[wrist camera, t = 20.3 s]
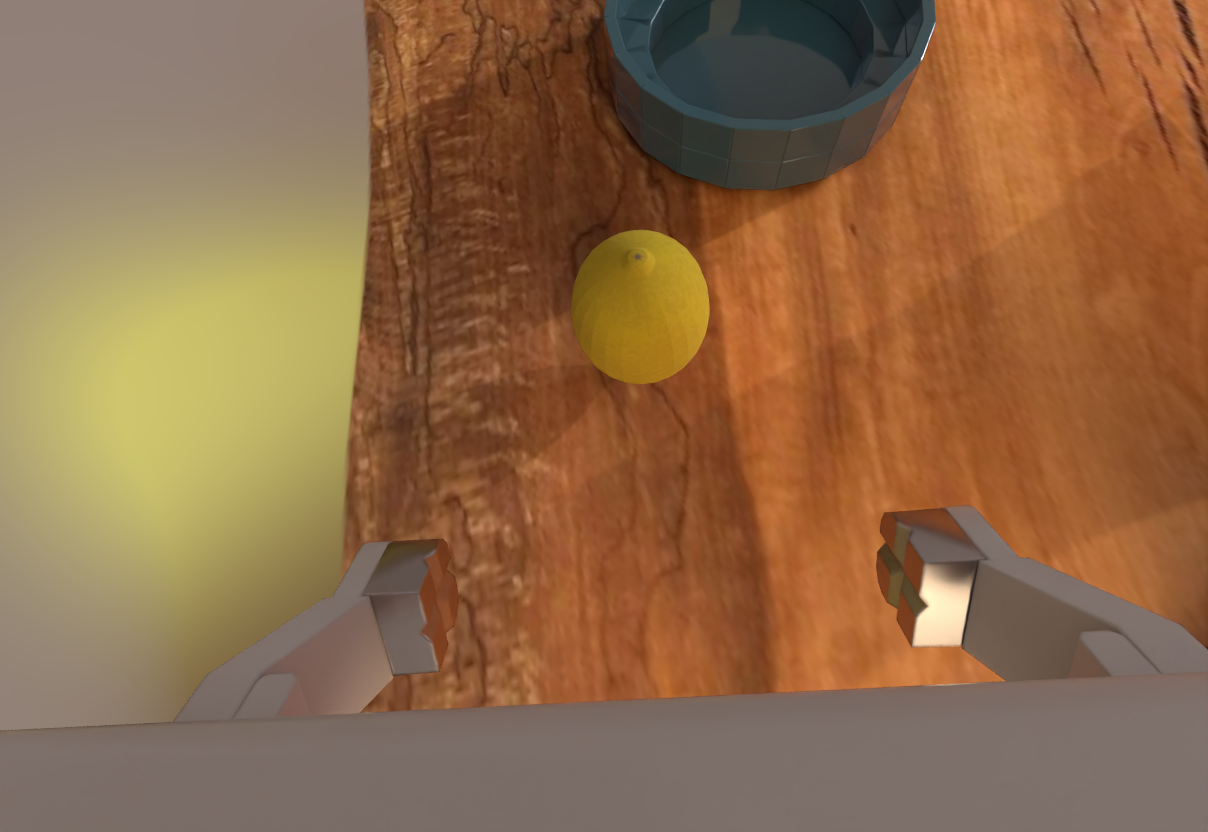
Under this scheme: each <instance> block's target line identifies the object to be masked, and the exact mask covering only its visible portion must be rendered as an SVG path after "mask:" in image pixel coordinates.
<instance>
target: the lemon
mask: <svg viewBox="0 0 1208 832" xmlns="http://www.w3.org/2000/svg"><path fill="white" fill-rule="evenodd" d="M709 312H710V308H709V298H708V289H707V284H706V282H705V279H704V277H703V274H702V272H701V269H700V267H699V265H698V263H697V262H696V260H695V259H694V258H693V256H692V255H691V254H690V253H689V251H688V250H687V249H686V248H685V247H684V246H683V245H681V244H680V243H679V242H677V241H676V240H675V239H673V238H671V237H668V236H666V235H664V234H662V233H659V232H654V231H649V230H631V231H626V232H622V233H618V234H616V235H614V236H612V237H610V238H608V239H606V240H604V241H603V242H602V243H601V244H599V245H598V246H597V247H596V248H594V249H593V250H592V251H591V253H590V254H589V255H588V257H587V258H586V259H585V261H584V262H583V263H582V265H581V267H580V270H579V272H578V275H577V277H576V280H575V282H574V286H573V293H572V301H571V316H572V322H573V328H574V333H575V336H576V338H577V340H578V342H579V344H580V346H581V348H582V350H583V352H584V354H585V355H586V356H587V357H588V358H589V360H590V361H591V362H592V363H593V364H594V365H595V367H597V368H598V369H599V370H601V371H602V372H604V373H605V374H607V375H608V376H610V377H611V378H614V379H617V380H620V381H623V382H626V383H635V384H646V383H654V382H658V381H660V380H663V379H666V378H668V377H671V376H672V375H674V374H675V373H677V372H678V371H680V370H681V369H683V368H684V367H685V366H686V365H687V363H688V362H689V361H690V360H691V359H692V358H693V357H694V356H695V354H696V353H697V351H698V349H699V347H700V345H701V343H702V341H703V339H704V337H705V334H706V330H707V325H708V319H709Z"/></svg>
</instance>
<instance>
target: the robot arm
mask: <svg viewBox="0 0 1208 832" xmlns="http://www.w3.org/2000/svg"><path fill="white" fill-rule="evenodd" d="M880 533H881V534H882V536H883V538H884V539H885V541H886V543H885V544H884V545H883V546H882V547H881V548H880V549H879V550H878V552H877V564H876V568H877V576H878V583H879V586H880V589H881V592H882V594H883V596H884V598H885V600H886V602H887V603H889V604H890V605H892V606H894V607H895V608H897V609H898V612H897V622H898V624H899V626H900V627H901V629H902V631H903V633H904V635H905V636H906V638H907V640H908V642H909V644H910V645H911V647H952V646H962V649H964V650H965V651H966V652H968V653H969V654H970V655H972V656H973V657H974V658H976V659H977V660H978V661H980V662H981V663H982V664H984V665H985V666H987V667H988V668H989V669H991V670H992V671H993V672H995V673H996V674H997V675H999V676H1000V677H1001V678H1003V679H1004V680H1006V681H1004V682H983V683H963V684H943V685H922V686H902V687H882V688H861V689H841V690H821V691H800V692H780V693H760V694H739V695H719V696H698V697H678V698H657V699H637V700H616V701H596V702H575V703H555V704H534V705H514V706H493V707H473V708H452V709H432V710H411V711H391V712H370V713H360V712H361V711H362V710H363V709H364V708H365V707H366V706H367V705H368V704H369V703H370V702H371V701H372V699H373V698H374V697H375V696H376V695H377V694H378V693H379V692H380V691H381V690H382V689H383V688H384V687H385V686H386V685H387V684H388V683H389V682H390V681H391V680H392V679H393V676H394V675H407V674H419V673H432V672H440V669H441V666H442V663H443V660H444V656H445V653H446V650H447V647H448V641H447V636H446V632H448V631H449V630H450V629H451V628H452V627H454V624H455V620H456V617H457V609H458V589H457V583H456V578H455V576H454V575H453V574H452V573H451V572H450V571H448V570H447V567H448V564H449V561H450V558H451V556H450V552H449V549H448V545H447V542H446V541H445V540H444V539H430V540H406V541H392V542H391V541H383V542H368V543H366V544H364V545H362V546H361V548H360V549H359V551H358V553H357V555H356V556H355V558H354V560H353V562H352V563H351V565H350V567H349V569H348V570H347V572H346V574H345V576H344V577H343V579H342V581H341V582H340V584H339V586H338V588H337V589H336V591H335V593H334V595H333V596H332V598H324V599H322V600H321V601H319V602H318V603H316V604H314V605H313V606H311V607H310V608H308V609H307V610H305V611H304V612H302V613H301V614H299V615H298V616H296V617H294V618H293V619H291V620H290V621H288V622H287V623H285V624H284V625H282V626H281V627H279V628H278V629H276V630H275V631H273V632H271V633H270V634H269V635H267V636H265V637H264V638H262V639H261V640H259V641H258V642H256V643H255V644H253V645H252V646H250V647H249V648H247V649H245V650H244V651H243V652H241V653H239V654H238V655H236V656H235V657H233V658H232V659H230V660H229V661H227V662H226V663H224V664H222V665H221V666H220V667H218V668H216V669H215V670H213V671H212V672H210V673H209V674H207V675H206V676H205V678H204V679H203V680H202V682H201V683H200V685H199V686H198V687H197V689H196V690H195V692H194V693H193V694H192V696H191V697H190V698H189V700H188V701H187V703H186V704H185V705H184V707H183V708H182V710H181V711H180V713H179V714H178V715H177V717H176V718H175V720H174V721H173V722H167V723H146V724H127V725H105V726H87V727H65V728H45V729H25V730H4V731H0V832H1208V649H1206V648H1205V647H1204V646H1203V645H1202V644H1201V643H1200V642H1199V641H1198V640H1197V639H1196V638H1195V637H1194V636H1192V635H1191V634H1190V633H1189V632H1188V631H1187V630H1186V629H1185V628H1184V627H1183V626H1182V625H1180V624H1178V623H1176V622H1173V621H1171V620H1169V619H1167V618H1164V617H1162V616H1160V615H1157V614H1155V613H1153V612H1151V611H1148V610H1146V609H1144V608H1142V607H1139V606H1137V605H1135V604H1133V603H1130V602H1128V601H1126V600H1124V599H1121V598H1119V597H1117V596H1114V595H1112V594H1110V593H1108V592H1105V591H1103V590H1101V589H1099V588H1096V587H1094V586H1092V585H1090V584H1087V583H1085V582H1083V581H1081V580H1078V579H1076V578H1074V577H1071V576H1069V575H1067V574H1065V573H1062V572H1060V571H1058V570H1056V569H1053V568H1051V567H1049V566H1047V565H1044V564H1042V563H1040V562H1037V561H1035V560H1033V559H1031V558H1019V557H1018V555H1017V554H1016V553H1015V552H1014V551H1013V550H1012V549H1011V548H1010V547H1009V545H1008V544H1007V543H1006V542H1005V541H1004V540H1003V539H1002V538H1001V536H1000V535H999V534H998V533H997V532H996V531H995V530H994V529H993V528H992V526H991V525H990V524H989V523H988V522H987V521H986V520H985V519H984V518H983V516H982V515H981V514H980V513H979V512H978V511H977V510H976V509H975V508H974V507H972V506H969V505H964V506H953V507H942V508H938V509H925V510H911V511H898V512H885V513H884V514H883V517H882V519H881V525H880Z"/></svg>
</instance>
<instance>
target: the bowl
mask: <svg viewBox="0 0 1208 832" xmlns="http://www.w3.org/2000/svg"><path fill="white" fill-rule="evenodd" d="M603 18H604V31H605V43H606V56H607V68H608V81H609V87H610V90H611V94H612V97H613V101H614V105H615V108H616V112H617V115H618V118H619V119H620V121H621V122H622V123H623V125H624V126H625V127H626V129H627V130H628V131H629V132H630V134H631V135H632V136H633V138H634V139H635V140H636V142H637V143H638V144H639V146H640V147H641V148H642V149H643V151H645V152H646V153H648V154H649V155H651V156H652V157H654V158H655V159H657V160H658V161H660V162H661V163H663V164H664V165H666V166H667V167H669V168H670V169H672V170H673V171H675V172H676V173H678V174H679V173H680V174H681V175H684V176H687V177H691V178H694V179H697V180H700V181H703V182H707V183H710V184H713V185H716V186H719V187H723V188H724V187H725V188H728V189H752V190H774V189H775V190H778V189H782V188H787V187H791V186H796V185H800V184H805V183H809V182H814V181H818V180H822V179H824V178H826V177H828V176H830V175H832V174H834V173H835V172H837V171H839V170H841V169H843V168H845V167H846V166H848V165H850V164H852V163H854V162H856V161H857V160H859V159H861V158H862V157H864V156H865V155H866V154H867V153H868V152H869V151H870V150H871V149H872V147H873V146H874V145H875V144H876V143H877V142H878V141H879V140H880V139H881V138H882V137H883V136H884V134H885V133H886V132H887V131H888V130H889V129H890V128H891V127H892V126H893V123H894V121H895V119H896V117H897V114H898V112H899V110H900V108H901V106H902V103H903V101H904V99H905V97H906V94H907V92H908V90H909V88H910V86H911V84H912V81H913V79H914V77H915V75H916V73H917V70H918V68H919V66H920V64H921V62H922V59H923V56H924V54H925V51H926V49H927V46H928V43H929V41H930V38H931V35H932V33H933V30H934V27H935V25H936V15H935V2H934V0H606V2H605V9H604V16H603Z"/></svg>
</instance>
